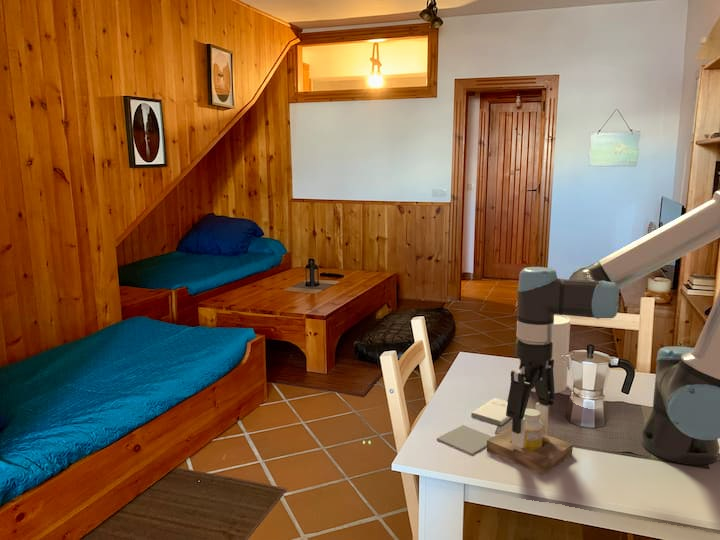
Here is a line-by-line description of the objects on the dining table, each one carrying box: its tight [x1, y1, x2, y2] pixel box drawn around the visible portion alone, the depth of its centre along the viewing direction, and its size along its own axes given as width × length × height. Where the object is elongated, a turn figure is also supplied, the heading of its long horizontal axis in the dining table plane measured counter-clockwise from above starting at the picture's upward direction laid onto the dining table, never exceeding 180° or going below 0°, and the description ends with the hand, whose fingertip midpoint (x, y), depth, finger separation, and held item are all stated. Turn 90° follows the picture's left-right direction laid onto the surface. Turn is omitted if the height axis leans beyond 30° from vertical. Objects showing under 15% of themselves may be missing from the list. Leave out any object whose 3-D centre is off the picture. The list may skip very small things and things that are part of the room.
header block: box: [486, 426, 574, 475], centre depth 125 cm, size 14×12×2 cm
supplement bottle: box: [523, 408, 543, 452], centre depth 124 cm, size 5×5×10 cm
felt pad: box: [436, 424, 493, 456], centre depth 131 cm, size 10×10×1 cm
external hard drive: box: [471, 397, 512, 426], centre depth 146 cm, size 2×8×12 cm
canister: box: [517, 314, 571, 394], centre depth 163 cm, size 14×14×20 cm
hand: (529, 438), depth 124 cm, fingers open, 9 cm apart
